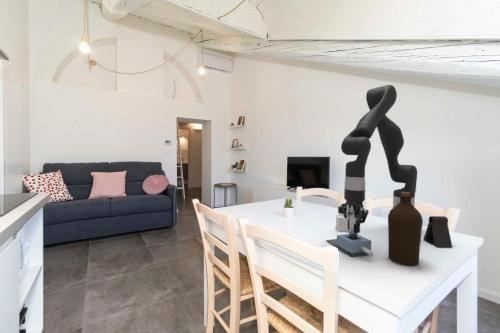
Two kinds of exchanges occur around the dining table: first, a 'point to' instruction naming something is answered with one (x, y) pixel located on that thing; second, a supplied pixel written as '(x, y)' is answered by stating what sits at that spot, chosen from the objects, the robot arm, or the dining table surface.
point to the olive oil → (404, 232)
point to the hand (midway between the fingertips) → (353, 231)
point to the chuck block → (354, 245)
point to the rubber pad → (332, 242)
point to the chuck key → (352, 227)
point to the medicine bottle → (341, 221)
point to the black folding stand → (438, 232)
